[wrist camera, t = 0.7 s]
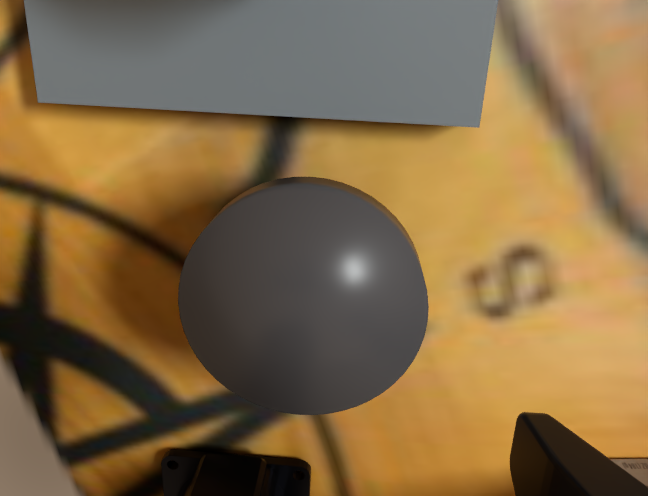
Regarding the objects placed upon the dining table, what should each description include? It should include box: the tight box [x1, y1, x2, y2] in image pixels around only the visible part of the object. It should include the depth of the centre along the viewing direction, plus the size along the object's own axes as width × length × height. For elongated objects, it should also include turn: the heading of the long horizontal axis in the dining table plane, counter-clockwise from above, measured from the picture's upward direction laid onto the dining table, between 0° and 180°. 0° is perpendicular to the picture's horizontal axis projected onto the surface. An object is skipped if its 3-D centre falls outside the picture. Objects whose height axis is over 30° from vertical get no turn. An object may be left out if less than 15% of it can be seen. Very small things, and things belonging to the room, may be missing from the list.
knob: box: [178, 177, 428, 415], centre depth 18 cm, size 7×7×5 cm
